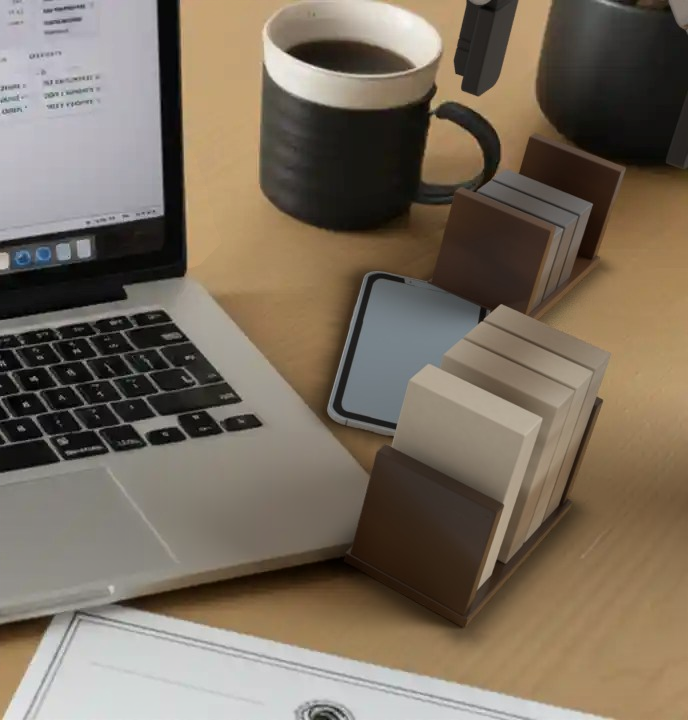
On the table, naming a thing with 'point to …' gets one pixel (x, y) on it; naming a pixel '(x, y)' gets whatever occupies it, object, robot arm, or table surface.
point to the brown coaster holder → (529, 229)
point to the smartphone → (394, 346)
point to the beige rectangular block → (468, 439)
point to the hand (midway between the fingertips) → (576, 123)
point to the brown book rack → (466, 505)
